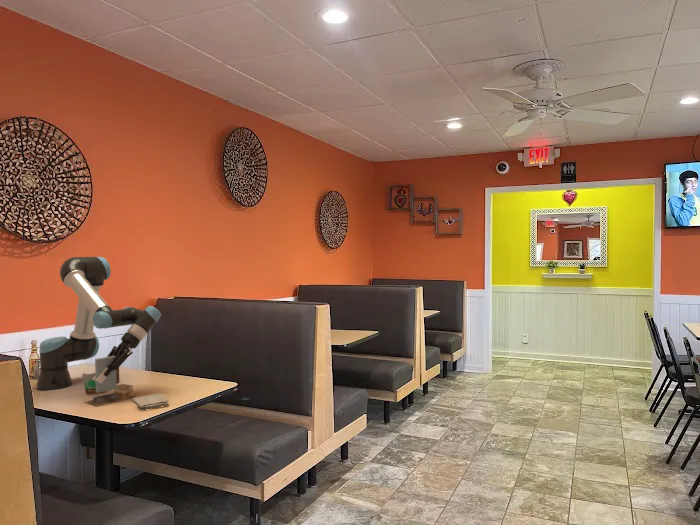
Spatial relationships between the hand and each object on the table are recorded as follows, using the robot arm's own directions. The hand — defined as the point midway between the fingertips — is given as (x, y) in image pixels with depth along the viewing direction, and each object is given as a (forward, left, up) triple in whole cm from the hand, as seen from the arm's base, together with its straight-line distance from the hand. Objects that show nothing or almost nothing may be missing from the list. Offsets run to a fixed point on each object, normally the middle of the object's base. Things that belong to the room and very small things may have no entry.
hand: (97, 381), depth 220 cm
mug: (-36, -19, -10) cm, 42 cm away
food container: (-16, -13, -10) cm, 23 cm away
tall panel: (-3, +2, -5) cm, 6 cm away
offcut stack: (-11, +5, -9) cm, 15 cm away
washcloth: (-5, +21, -11) cm, 24 cm away
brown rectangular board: (-5, +2, -10) cm, 12 cm away
